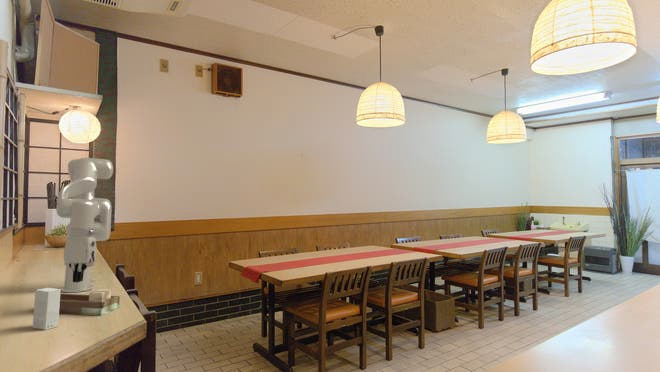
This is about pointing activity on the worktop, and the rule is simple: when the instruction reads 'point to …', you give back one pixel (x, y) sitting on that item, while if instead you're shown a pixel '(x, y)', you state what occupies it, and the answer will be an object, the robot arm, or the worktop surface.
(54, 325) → the skincare box
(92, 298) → the birch block
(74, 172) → the robot arm
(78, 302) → the channel
